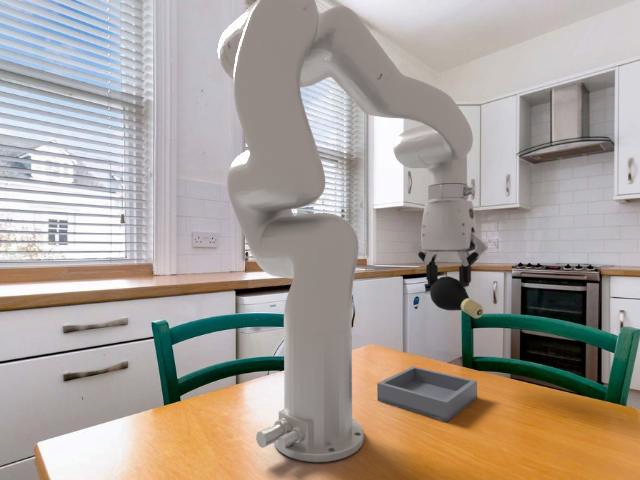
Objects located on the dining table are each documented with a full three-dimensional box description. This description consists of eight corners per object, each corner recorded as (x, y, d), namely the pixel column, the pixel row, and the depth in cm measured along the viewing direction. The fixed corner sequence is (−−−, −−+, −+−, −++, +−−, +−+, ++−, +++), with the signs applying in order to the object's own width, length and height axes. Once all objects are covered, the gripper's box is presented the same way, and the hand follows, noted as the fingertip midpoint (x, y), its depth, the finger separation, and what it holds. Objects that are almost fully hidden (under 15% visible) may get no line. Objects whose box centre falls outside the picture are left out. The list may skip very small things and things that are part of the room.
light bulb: (487, 288, 68) (444, 265, 79) (459, 311, 67) (419, 285, 78) (498, 314, 71) (454, 288, 82) (471, 336, 70) (431, 308, 81)
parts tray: (446, 422, 58) (446, 402, 58) (377, 400, 67) (377, 383, 67) (477, 397, 68) (477, 380, 68) (412, 381, 76) (412, 366, 76)
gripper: (498, 193, 74) (499, 287, 74) (417, 201, 86) (417, 281, 85) (484, 189, 68) (485, 290, 68) (400, 197, 80) (400, 284, 80)
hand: (448, 284), depth 77 cm, fingers closed on light bulb, 5 cm apart
